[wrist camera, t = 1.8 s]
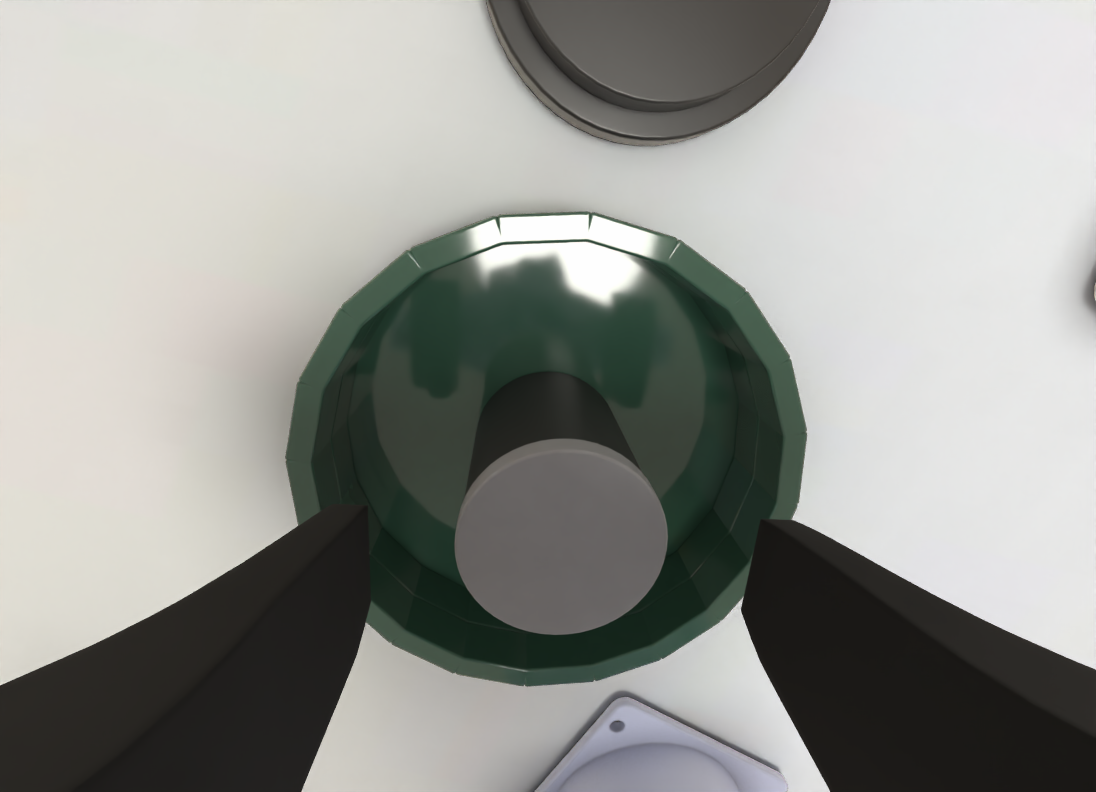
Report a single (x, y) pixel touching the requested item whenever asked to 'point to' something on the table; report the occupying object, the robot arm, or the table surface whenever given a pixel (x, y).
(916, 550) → the table surface
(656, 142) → the gray stand
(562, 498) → the black canister
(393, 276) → the tin
